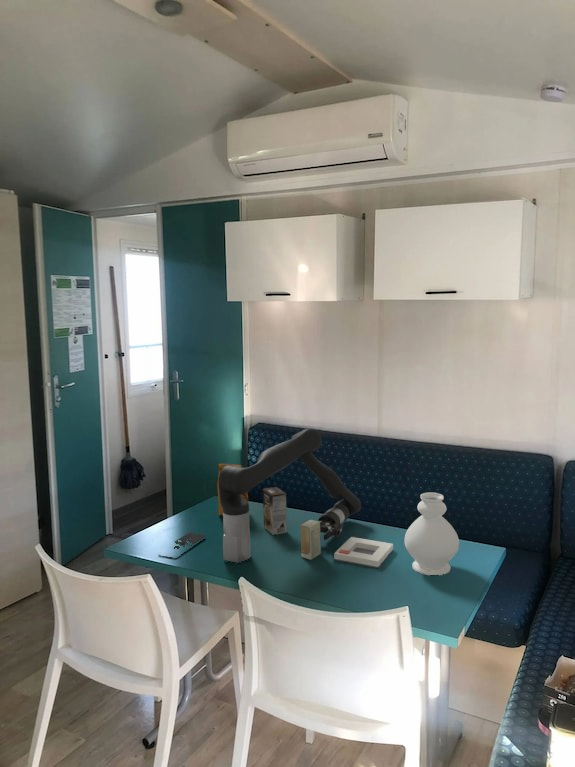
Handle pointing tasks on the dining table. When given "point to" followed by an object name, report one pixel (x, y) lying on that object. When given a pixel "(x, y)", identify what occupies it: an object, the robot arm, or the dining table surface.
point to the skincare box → (310, 539)
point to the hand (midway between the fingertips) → (313, 535)
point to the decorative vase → (431, 537)
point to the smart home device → (193, 539)
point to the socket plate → (363, 552)
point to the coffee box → (274, 510)
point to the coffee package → (218, 487)
